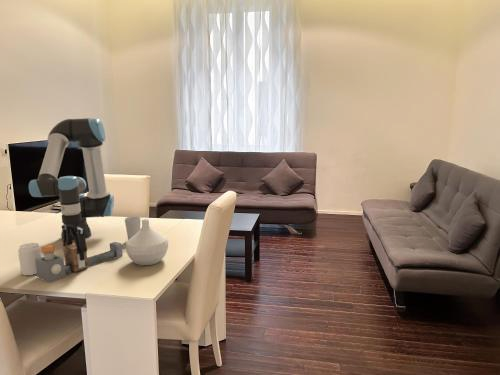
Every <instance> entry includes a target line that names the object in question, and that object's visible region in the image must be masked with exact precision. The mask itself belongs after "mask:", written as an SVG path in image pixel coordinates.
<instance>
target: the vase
mask: <svg viewBox="0 0 500 375" xmlns="http://www.w3.org/2000/svg"><path fill="white" fill-rule="evenodd" d="M124 246H125V252H126V254H127V256H128V258H129V259H130V260H131V261H132V262H133V263H135V264H137V265H138V266H143V265H146V266H153V265H156V264H158V263H160V262H161V261H162V260H163V259H164V257H165V256H166V255H167V252H168V249H169V240H168V239H167V237H166V236H164V235H163V234H161V233H159V232H157V231H156V230H154V229H153V228H152V227H151V226H150V220H149V219H148V218H146V219H145V218H143V219H141V227H140V230H139V231H138V232H137V233H136V234H135V235H134V236H133V237H132V238H130V239H129V240H128V239H127V241H126V243H125V245H124Z"/></svg>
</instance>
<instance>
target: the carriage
mask: <svg viewBox="0 0 500 375" xmlns="http://www.w3.org/2000/svg"><path fill="white" fill-rule="evenodd" d="M62 248H63V254H64V265H66V264H72V271H73V272H74V273H76V272H79V271H82V270H86V269H88V268H89V266H88V262H87V258H88V253H87V252H88V251H86V252H84V258H85V267H82V268H78V260H77V253H78V251H77V247H76V244H75V242H73V244H70V245H66V246H63V245H62Z"/></svg>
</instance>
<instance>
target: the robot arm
mask: <svg viewBox="0 0 500 375" xmlns="http://www.w3.org/2000/svg"><path fill="white" fill-rule="evenodd" d="M46 140H47V143H48V145H47V148H46V151H45V154H44V158H43V159H42V164H41V167H40V170H39V174H38V177H37V179H31V180H30V181H29V183H28V191H29V192H28V193H29V194H30V195H31V197H33V198H45V197H59V202H60V203H59V204H60V207H59V208H60V211H61V220H62V221H61V222H62V225H61V230H62V231H61V234H60V238H62V239H63V240H62V239H61V240H62V247H63V246H66V245H70V244H74V243H75V244H76V247H77V251H78V253H77V260H78V268H82V267H85V258H84V252H88V248H87V241H86V239H88V238H90V237H91V236H92V230H91V229H90V226H89V224H88V221H87V219H88V218H89V219H91V218H105V217H110V216H112V214H113V212H114V207H115V206H114V205H115V198H114V195H113V194H110V190H109V189H107V187H106V185H107V184H106V178H105V170H104V165H103V158H102V157H103V156H102V150H101V147H102V146H103V144H104V142H105V141H106V132H105V127H104V124H103V123H102V121H101V120H100V119H99V118H91V117H89V118H67V119H64V120H61V121H60V122H58V123H57V124H56V125H55V126H54V127H52V129H51V130H50V132H49V133H48V136H47V139H46ZM70 143H77V145H78V148H80V149H82V154H83V160H84V167H85V173H86V174H85V175H86V179H87V182H86V180H85V179H84V178H83V177H80V176H74V175H66V176H59V172H60V169H61V165H62V161H63V158H64V154H65V151H66V148H68V146H69V144H70ZM58 176H59V178H58ZM87 184H88V190H89V191H88V192H87V193H86V195H85V194H84V192H85V190H86V188H87ZM87 237H88V238H87ZM73 240H74V241H73Z"/></svg>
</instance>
